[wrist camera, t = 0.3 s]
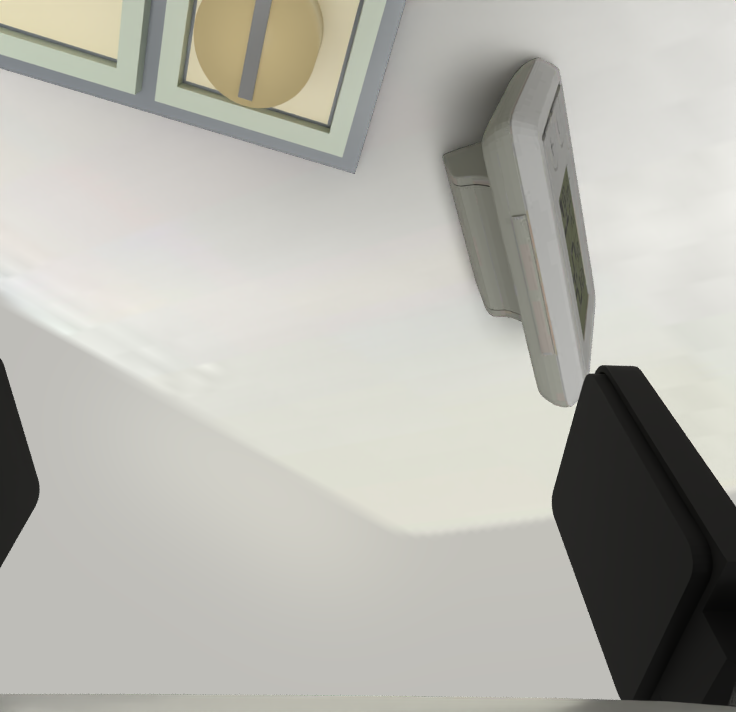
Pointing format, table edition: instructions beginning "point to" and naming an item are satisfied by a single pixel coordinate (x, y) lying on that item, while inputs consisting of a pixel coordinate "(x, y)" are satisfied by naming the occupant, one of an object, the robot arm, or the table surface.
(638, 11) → the table surface
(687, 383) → the table surface
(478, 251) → the digital clock
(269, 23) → the station
